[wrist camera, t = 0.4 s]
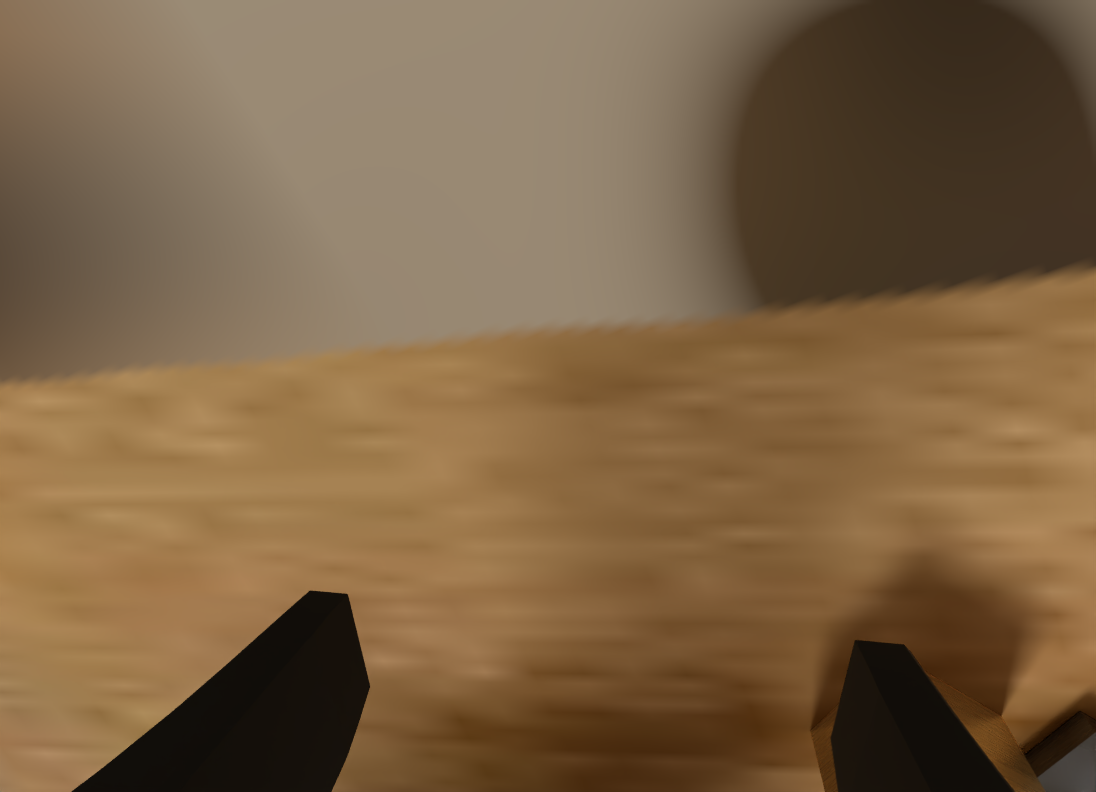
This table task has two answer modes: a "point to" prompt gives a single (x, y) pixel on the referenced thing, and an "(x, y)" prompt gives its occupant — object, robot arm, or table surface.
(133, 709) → the table surface
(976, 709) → the link block
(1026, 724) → the table surface
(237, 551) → the table surface
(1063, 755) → the base plate
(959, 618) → the table surface
